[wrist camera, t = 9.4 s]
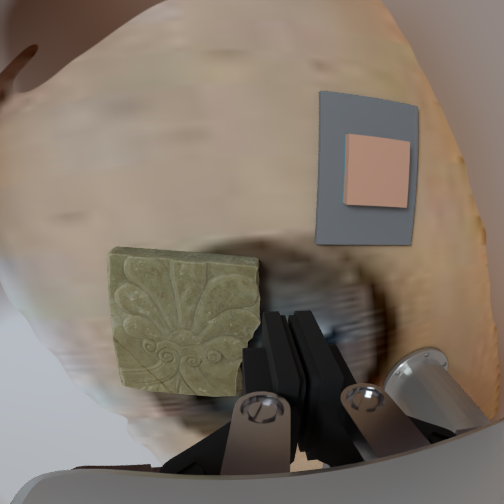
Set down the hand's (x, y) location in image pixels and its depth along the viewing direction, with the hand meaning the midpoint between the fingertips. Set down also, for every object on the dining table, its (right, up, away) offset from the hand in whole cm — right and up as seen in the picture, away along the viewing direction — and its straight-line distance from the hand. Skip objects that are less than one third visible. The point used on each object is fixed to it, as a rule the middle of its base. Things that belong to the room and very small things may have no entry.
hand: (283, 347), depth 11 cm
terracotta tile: (+9, +13, +24) cm, 28 cm away
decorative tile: (-10, -6, +30) cm, 32 cm away
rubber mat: (+13, +13, +25) cm, 31 cm away
